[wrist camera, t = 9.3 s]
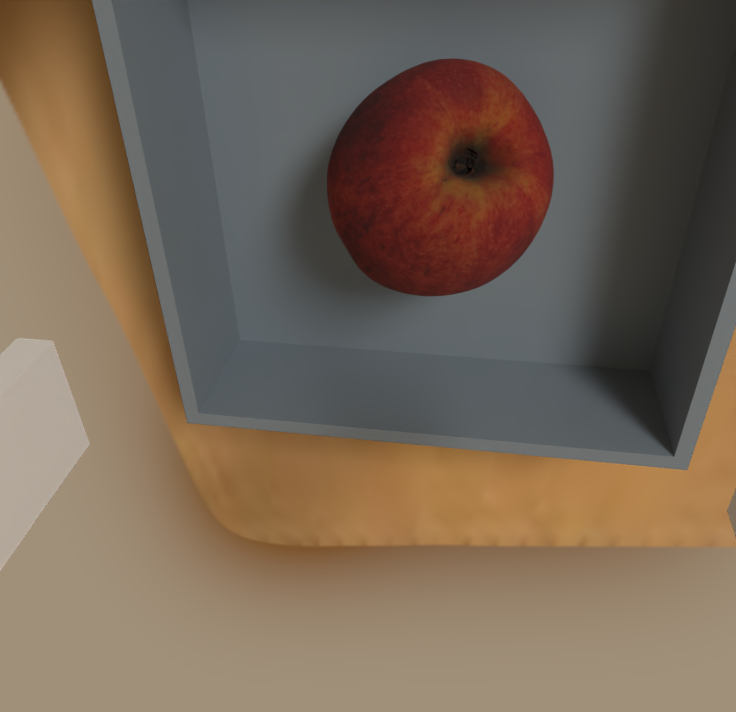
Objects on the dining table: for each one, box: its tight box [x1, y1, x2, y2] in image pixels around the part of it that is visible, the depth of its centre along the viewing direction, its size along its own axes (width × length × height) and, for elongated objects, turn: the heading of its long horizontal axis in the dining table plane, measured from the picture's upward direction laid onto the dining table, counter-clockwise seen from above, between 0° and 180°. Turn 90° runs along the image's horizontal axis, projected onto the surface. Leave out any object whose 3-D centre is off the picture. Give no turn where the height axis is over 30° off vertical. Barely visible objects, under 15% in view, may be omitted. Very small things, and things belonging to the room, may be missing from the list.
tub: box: [92, 0, 736, 470], centre depth 24 cm, size 20×20×6 cm
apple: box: [327, 58, 554, 296], centre depth 23 cm, size 7×8×8 cm
